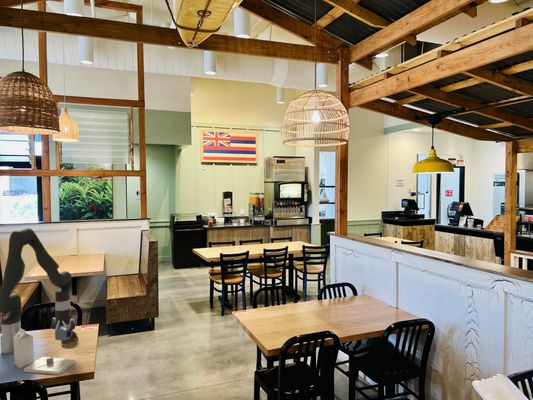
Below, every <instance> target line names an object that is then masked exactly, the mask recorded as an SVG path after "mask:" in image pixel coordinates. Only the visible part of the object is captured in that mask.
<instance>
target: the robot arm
mask: <svg viewBox="0 0 533 400" xmlns="http://www.w3.org/2000/svg"><path fill="white" fill-rule="evenodd" d="M8 240H9V241H8V253H7V258H6V263H5V264H6V265H5V268H4V273H3V278H2V279H3V280H2V283H1V288H0V313H1V314H3V313H6V314H5V315H4V316H2V317H1V319H0V323H1V324H0V325H1V335H0V351H1V353H3V354H5V355H12V354H14V339H13V337H14V336H15V335H16V334H17V333H18V332H19V331H20V328H21V327H22V325H21V317H22V299H21V296H20V294H18V293H17V292H13V291H14V290H15V288H16V287H17V286H18V285H19V283H20V282H21V281H22V279H23V278H24V277H23V276H24V273H25V269H26V264H25V262H24V260H23V257H22V252H23V248H24V246H27V245H29V246H30V247H31V248H32V250H33V251H34V254H35V257H36V261H37V263H38V265H39V267H41V269H43V271H44V272H45V273H46V275H47V277H48V279H49V281H50V283H51V284H52V285H53V286H55V287H56V288H57V287H58V289H57V290H56V291H55V293H54V297H55V302H54V310H55V311H54V313H55V317H52V318H51V319H50V322H51V324H50V325H51V330H55V331H56V330H58V329H59V328H61V327H65V328H66V329H67V338H68V339H69V337H71V335H72V332H71V331H74V330H75V329H76V323H77V322H76V321H77V319H75V318H71V313H72V312H71V300H70V298H71V297H70V296H71V295H70V291H71V286H72V279H73V277H72V275H71V273H70V272H68V271H66V270H65V271H61V272H59V270H58V269H59V268H60V265H59V263H58V262H56V260H55V259H54V258H53V257H52V256H51V255H50V254H49V252H48V251H47V249H46V248H45V246H44V245H43V244H42V242H41V240H40V239H39V237H38V236H37V234H36V232H35V231H34V230H33V229H32V228H30V227H24V228H23V227H22V228H20V229H17V230H14V231H12V233H11V234H10V235H9V239H8ZM12 292H13V293H12Z"/></svg>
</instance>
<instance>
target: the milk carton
mask: <svg viewBox="0 0 533 400" xmlns="http://www.w3.org/2000/svg"><path fill="white" fill-rule="evenodd" d="M13 339H14V353H13V354H14V355H13V356H14V364H15V365H16V366H17V368H19V369H21V368H24V367H27V366H29V365H30V364H32V363H34V362H35V357H34V353H35V352H34V336H33V335H32V334H30V333H29V332H27V331H26V330H25V329H22V328H20V331H19V332H18V333H17V334H16V335H15V336H14V337H13Z"/></svg>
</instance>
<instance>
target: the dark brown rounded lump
mask: <svg viewBox="0 0 533 400" xmlns="http://www.w3.org/2000/svg"><path fill="white" fill-rule="evenodd" d="M74 340H77V341H78V340H79V337H78V334H77V332H76V331H74V330H72V336H71V337H70V338H68V339H67V340H60V341H61V346H64V345H66V344H70V343H71V342H73V341H74Z"/></svg>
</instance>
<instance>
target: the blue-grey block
mask: <svg viewBox="0 0 533 400" xmlns="http://www.w3.org/2000/svg"><path fill="white" fill-rule="evenodd" d="M72 331H73V330H72ZM72 331H71V332H72ZM71 336H72V335H71ZM69 338H70V337H69ZM69 338H67V329H66V328H65V326H61V327H60V328H59V329H58V330H55V331H54V340H55V341H61V340H67V339H69Z"/></svg>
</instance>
